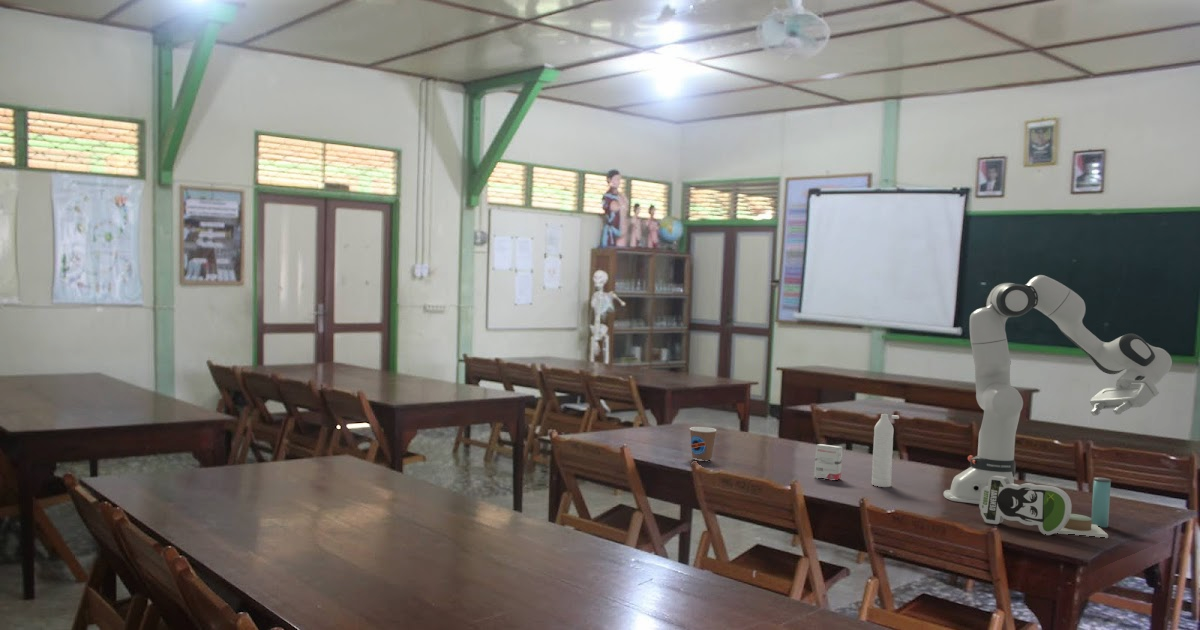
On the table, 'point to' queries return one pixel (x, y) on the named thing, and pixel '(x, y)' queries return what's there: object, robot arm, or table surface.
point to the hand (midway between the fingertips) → (1104, 413)
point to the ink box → (828, 461)
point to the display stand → (1082, 527)
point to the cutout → (1025, 504)
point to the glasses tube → (1101, 501)
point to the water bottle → (883, 451)
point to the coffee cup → (702, 442)
